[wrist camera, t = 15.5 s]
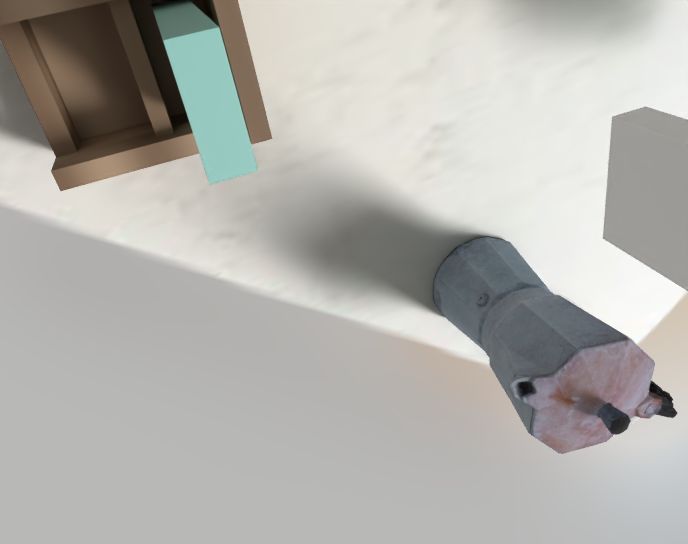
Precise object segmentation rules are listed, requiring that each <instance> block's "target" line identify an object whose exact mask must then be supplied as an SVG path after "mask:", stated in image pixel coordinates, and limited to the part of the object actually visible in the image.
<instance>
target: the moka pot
mask: <svg viewBox="0 0 688 544" xmlns="http://www.w3.org/2000/svg"><path fill="white" fill-rule="evenodd" d="M433 292H434V302H435V304H436V306H437V307H438V308H439V310H440V311H441V312H442V313H443V315H444V316H445V317H446V318H447V319H448V320H449V321H450V322H451V323H452V324H454V325H455V326H456V327H457V328H458V329H459V330H461V331H462V332H463V333H464V334H465V335H467V336H468V337H469V338H470V339H471V340H473V341H474V342H475V343H476V344H477V345H478V346H480V347H481V348H482V349H483V350H484V351H485V352H486V353H487V355H488V356H489V358H490V366H491V368H492V370H493V371H494V373H495V375H496V377H497V378H498V380H499V382H500V384H501V385H502V387H503V388H504V390H505V392H506V394H507V395H508V397H509V398H510V400H511V402H512V404H513V405H514V407H515V409H516V411H517V413H518V415H519V417H520V418H521V420H522V422H523V424H524V425H525V427H526V429H527V430H528V432H529V433H530V434H531V435H533V436H534V437H535V438H537V439H538V440H540V441H541V442H543V443H544V444H546V445H548V446H549V447H550V448H552V449H553V450H555V451H556V452H558V453H562V454H563V453H567V452H570V451H574V450H578V449H582V448H585V447H589V446H593V445H596V444H599V443H603V442H606V441H607V440H609V439H610V438H611V437H612V436H613V435H614V434H620V433H622V432H624V431H625V430H626V429H627V428H628V426H629V424H630V422H631V420H630V419H631V418H633V417H635V416H636V417H640V418H651V417H652V416H653V415H655V414H656V415H661V416H665V417H671V418H673V417H675V416H676V414H677V412H676V410H675V409H674V408H673V403H672V400H673V399H672V397H671V396H670V394H669V393H667V392H665V391H663V390H662V389H661V388H660V387H659V386H658V385H656V384H655V383H654V382H653V381H652V380H651V379H652V374H653V370H654V366H655V363H654V361H653V360H652V359H651V358H650V357H649V356H648V355H647V354H646V353H645V352H644V351H643V350H641V349H640V348H639V347H638V346H637V345H636V344H635V343H634V342H633V341H632V340H631V339H629V338H628V337H627V336H626V335H624V334H622V333H620V332H619V331H617V330H616V329H614V328H612V327H611V326H609V325H607V324H606V323H604V322H602V321H601V320H599V319H597V318H596V317H594V316H592V315H591V314H589V313H587V312H586V311H584V310H582V309H581V308H579V307H577V306H576V305H574V304H572V303H571V302H569V301H567V300H566V299H564V298H563V297H561V296H559V295H554V294H553V293H552V292H550V291H549V289H548V288H547V286H546V285H545V284H544V283H543V282H542V281H541V279H540V278H539V277H538V276H537V274H536V273H535V272H534V271H533V270H532V268H531V267H530V266H529V265H528V264H527V262H526V261H525V260H524V259H523V257H522V256H521V255H520V254H519V253H518V251H517V250H516V249H515V248H514V246H513V245H512V244H511V243H510V242H508V241H505V240H501V239H495V238H490V237H484V238H480V239H474V240H472V241H470V242H467V243H465V244H463V245H460V246H459V247H458V248H456V249H455V250H454V251H453V252H452V253H451V254H450V255H449V256H448V257H447V258H446V259H445V261H444V262H443V263H442V265H441V267H440V269H439V270H438V272H437V274H436V277H435V281H434V288H433Z"/></svg>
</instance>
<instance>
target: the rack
mask: <svg viewBox="0 0 688 544" xmlns="http://www.w3.org/2000/svg"><path fill="white" fill-rule="evenodd" d="M163 1H167V0H0V38H1V40H2V42H3V44H4V47H5V49H6V51H7V53H8V55H9V57H10V59H11V62H12V64H13V66H14V68H15V70H16V72H17V74H18V77H19V79H20V81H21V83H22V85H23V87H24V89H25V92H26V94H27V96H28V98H29V100H30V102H31V104H32V106H33V109H34V111H35V113H36V115H37V117H38V119H39V121H40V124H41V126H42V128H43V130H44V132H45V134H46V136H47V139H48V141H49V143H50V145H51V147H52V149H53V151H54V154H55V156H56V159H55V162H54V165H53V167H52V170H51V172H52V174H53V176H54V178H55V180H56V182H57V184H58V187H59V189H60V191H63V190H67V189H70V188H74V187H78V186H81V185H85V184H88V183H92V182H96V181H99V180H103V179H107V178H110V177H114V176H118V175H121V174H125V173H129V172H132V171H136V170H140V169H143V168H147V167H151V166H154V165H158V164H161V163H165V162H169V161H172V160H176V159H180V158H183V157H187V156H191V155H194V154H198V153H199V150H198V147H197V144H196V141H195V138H194V135H193V131H192V128H191V125H190V122H189V119H188V116H187V113H186V110H185V107H184V104H183V101H182V98H181V95H180V92H179V89H178V86H177V82H176V79H175V76H174V73H173V70H172V67H171V64H170V61H169V58H168V55H167V52H166V49H165V45H164V42H163V39H162V36H161V33H160V30H159V27H158V24H157V21H156V18H155V15H154V12H153V9H152V5H151V4H154V3H158V2H163ZM190 1H191V2H192V3H193V4H194V5H195V6H196V7H197V8H198V9H200V10H201V11H202V12H203V13H204V14H205V15H206V16H207V17H208V18H210V19H211V20H212V21H213V22H214V23H215V24H216V25H217V26H218V27H219V29H220V32H221V36H222V40H223V43H224V47H225V51H226V54H227V58H228V62H229V65H230V69H231V73H232V76H233V80H234V84H235V87H236V91H237V95H238V98H239V102H240V106H241V109H242V113H243V117H244V120H245V124H246V128H247V131H248V135H249V139H250V142H251V143H252V144H255V143H258V142H262V141H266V140H269V139H272V136H271V132H270V128H269V124H268V120H267V116H266V112H265V108H264V104H263V100H262V96H261V92H260V88H259V84H258V80H257V76H256V72H255V68H254V64H253V60H252V56H251V52H250V48H249V44H248V40H247V36H246V32H245V28H244V24H243V20H242V16H241V12H240V8H239V4H238V0H190Z"/></svg>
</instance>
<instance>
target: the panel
mask: <svg viewBox="0 0 688 544" xmlns="http://www.w3.org/2000/svg"><path fill="white" fill-rule="evenodd" d="M151 5H152V9H153V12H154V15H155V18H156V21H157V24H158V27H159V30H160V33H161V36H162V39H163V42H164V45H165V49H166V52H167V55H168V58H169V61H170V64H171V67H172V70H173V73H174V76H175V79H176V82H177V86H178V89H179V92H180V95H181V98H182V101H183V104H184V107H185V110H186V113H187V116H188V119H189V122H190V125H191V128H192V131H193V135H194V138H195V141H196V144H197V147H198V150H199V153H200V156H201V159H202V162H203V165H204V168H205V171H206V174H207V177H208V180H209V183H210V184H214V183H217V182H221V181H224V180H228V179H231V178H235V177H238V176H242V175H245V174H249V173H252V172H256V171H258V168H257V165H256V161H255V157H254V154H253V150H252V146H251V143H250V139H249V135H248V131H247V128H246V124H245V120H244V117H243V113H242V109H241V106H240V102H239V98H238V95H237V91H236V87H235V84H234V80H233V76H232V73H231V69H230V65H229V62H228V58H227V54H226V51H225V47H224V43H223V40H222V36H221V32H220V29H219V27H218V26H217V25H216V24H215V23H214V22H213V21H212V20H211V19H210V18H208V17H207V16H206V15H205V14H204V13H203V12H202V11H201V10H200V9H198V8H197V7H196V6H195V5H194V4H193V3H192V2H191V1H190V0H167V1H163V2H158V3H154V4H151Z"/></svg>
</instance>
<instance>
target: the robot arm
mask: <svg viewBox="0 0 688 544" xmlns="http://www.w3.org/2000/svg"><path fill="white" fill-rule="evenodd" d="M603 239H605V240H606V241H608V242H610V243H611V244H613V245H614V246H616V247H618V248H619V249H621V250H623V251H624V252H626V253H627V254H629V255H631V256H632V257H634V258H635V259H637V260H639V261H640V262H642V263H644V264H645V265H647V266H648V267H650V268H652V269H653V270H655V271H656V272H658V273H660V274H661V275H663V276H665V277H666V278H668V279H669V280H671V281H673V282H674V283H676V284H677V285H679V286H681V287H682V288H684V289H685V290H687V291H688V120H687V119H684V118H680V117H677V116H674V115H671V114H667V113H664V112H661V111H658V110H654V109H651V108H648V107H643V108H640V109H636V110H633V111H630V112H626V113H623V114H620V115H616V116H613V117H612V126H611V139H610V153H609V166H608V179H607V192H606V205H605V218H604V231H603Z"/></svg>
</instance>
